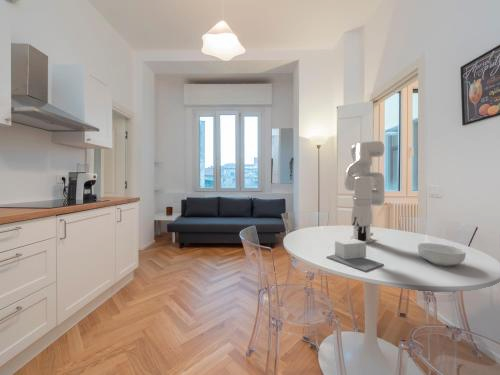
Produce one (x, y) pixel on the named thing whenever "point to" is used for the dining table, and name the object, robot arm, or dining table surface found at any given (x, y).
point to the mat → (357, 263)
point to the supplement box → (350, 249)
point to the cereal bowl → (441, 254)
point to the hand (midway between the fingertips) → (361, 240)
